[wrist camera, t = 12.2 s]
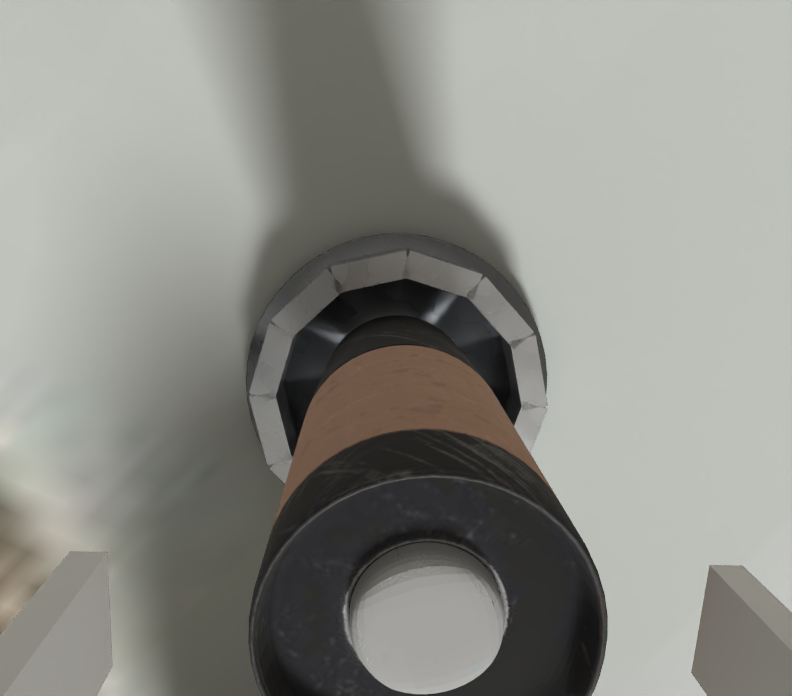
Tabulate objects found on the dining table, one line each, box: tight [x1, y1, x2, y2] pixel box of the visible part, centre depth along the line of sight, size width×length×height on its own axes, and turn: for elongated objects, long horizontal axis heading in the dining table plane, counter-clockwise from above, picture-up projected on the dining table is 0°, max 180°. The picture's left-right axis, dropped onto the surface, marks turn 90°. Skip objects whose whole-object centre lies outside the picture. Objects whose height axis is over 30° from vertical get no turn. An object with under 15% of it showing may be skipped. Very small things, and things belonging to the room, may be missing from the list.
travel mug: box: [249, 315, 607, 696], centre depth 23 cm, size 8×8×20 cm
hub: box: [246, 234, 548, 483], centre depth 32 cm, size 15×15×4 cm
